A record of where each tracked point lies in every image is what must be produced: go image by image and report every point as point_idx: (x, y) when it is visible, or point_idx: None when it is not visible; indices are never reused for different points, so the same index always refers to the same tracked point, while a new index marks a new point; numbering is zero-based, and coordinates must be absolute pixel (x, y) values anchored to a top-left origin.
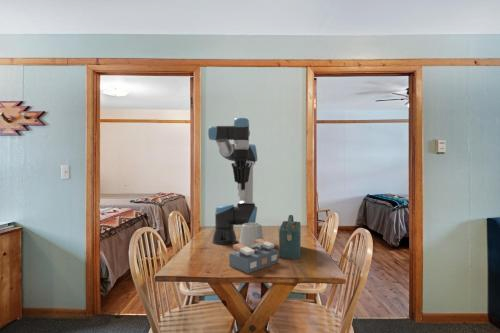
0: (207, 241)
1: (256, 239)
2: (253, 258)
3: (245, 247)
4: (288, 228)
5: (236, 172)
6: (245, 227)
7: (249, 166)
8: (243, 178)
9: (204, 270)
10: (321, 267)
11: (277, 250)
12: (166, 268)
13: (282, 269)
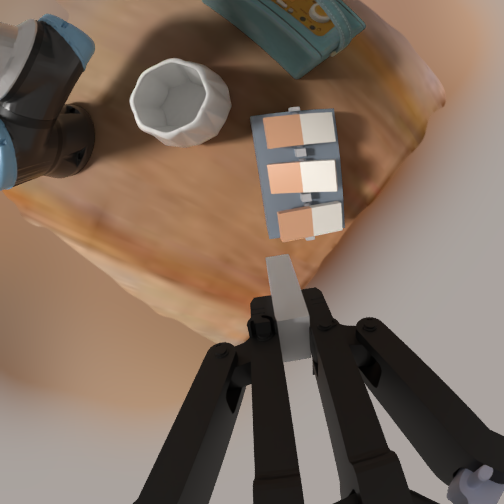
0: (50, 186)
1: (268, 137)
2: (343, 209)
3: (314, 216)
4: (345, 41)
5: (213, 456)
6: (180, 134)
7: (489, 450)
8: (367, 384)
9: (259, 285)
10: (401, 66)
11: (333, 109)
12: (205, 334)
13: (364, 138)
